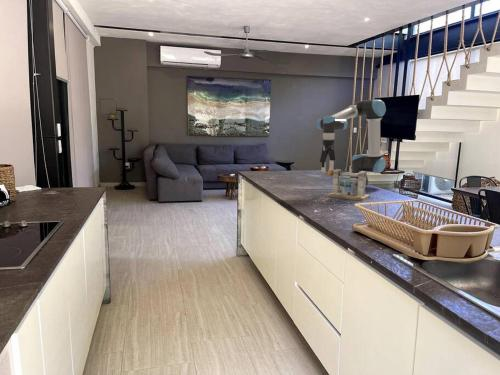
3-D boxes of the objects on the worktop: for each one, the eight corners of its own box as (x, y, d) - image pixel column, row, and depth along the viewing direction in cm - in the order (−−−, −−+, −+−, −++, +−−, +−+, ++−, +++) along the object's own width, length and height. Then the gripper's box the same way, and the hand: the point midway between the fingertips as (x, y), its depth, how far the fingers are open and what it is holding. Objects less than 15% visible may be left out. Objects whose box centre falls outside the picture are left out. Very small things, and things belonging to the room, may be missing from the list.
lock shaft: (330, 175, 258) (330, 168, 257) (364, 179, 244) (365, 171, 243) (327, 176, 254) (327, 169, 253) (362, 180, 240) (362, 172, 239)
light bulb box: (343, 196, 245) (344, 179, 243) (338, 194, 251) (339, 178, 249) (358, 195, 248) (359, 179, 246) (353, 193, 254) (353, 177, 252)
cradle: (335, 193, 262) (336, 168, 259) (369, 197, 249) (371, 170, 245) (327, 196, 251) (328, 170, 248) (362, 201, 237) (364, 173, 234)
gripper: (330, 138, 264) (329, 168, 268) (315, 140, 244) (314, 172, 248) (340, 138, 260) (339, 169, 263) (326, 140, 240) (325, 173, 243)
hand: (327, 171), depth 256 cm, fingers open, 13 cm apart
